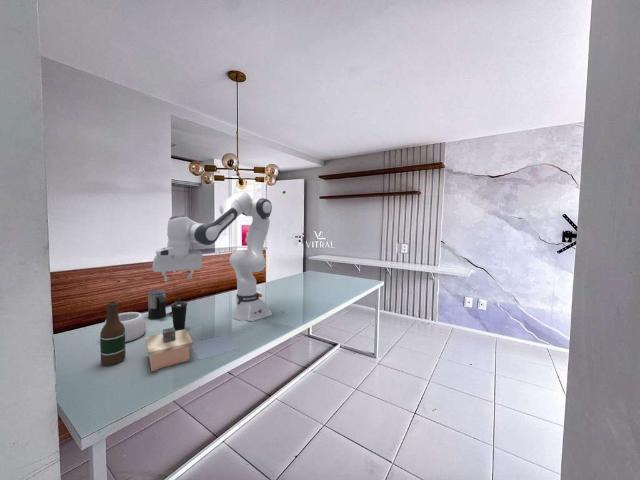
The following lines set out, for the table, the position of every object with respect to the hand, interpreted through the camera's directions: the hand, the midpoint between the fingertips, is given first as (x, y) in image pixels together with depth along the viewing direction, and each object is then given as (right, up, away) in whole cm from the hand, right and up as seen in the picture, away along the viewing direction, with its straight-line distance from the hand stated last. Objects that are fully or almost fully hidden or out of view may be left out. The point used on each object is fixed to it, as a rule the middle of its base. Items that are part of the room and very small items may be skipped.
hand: (178, 279), depth 119 cm
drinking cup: (-7, -28, +13) cm, 32 cm away
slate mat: (+18, -30, -3) cm, 35 cm away
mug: (-27, -28, +1) cm, 39 cm away
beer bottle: (-16, -30, -17) cm, 38 cm away
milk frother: (-25, -26, +32) cm, 48 cm away
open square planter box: (+4, -30, -14) cm, 34 cm away
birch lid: (+4, -23, -15) cm, 28 cm away
